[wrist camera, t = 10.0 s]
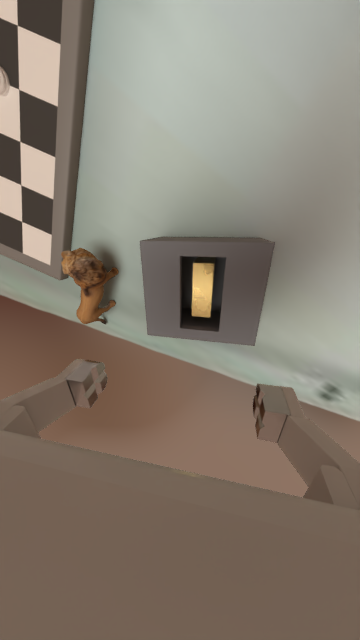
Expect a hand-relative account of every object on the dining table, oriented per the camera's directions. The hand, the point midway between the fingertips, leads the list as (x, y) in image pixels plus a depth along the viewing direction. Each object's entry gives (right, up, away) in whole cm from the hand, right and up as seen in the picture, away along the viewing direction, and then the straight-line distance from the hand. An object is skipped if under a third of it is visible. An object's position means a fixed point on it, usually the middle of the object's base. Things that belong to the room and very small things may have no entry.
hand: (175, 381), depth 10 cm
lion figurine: (-13, +10, +25) cm, 30 cm away
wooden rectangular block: (+4, +9, +20) cm, 22 cm away
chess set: (-33, +39, +16) cm, 53 cm away
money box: (+4, +10, +21) cm, 23 cm away
